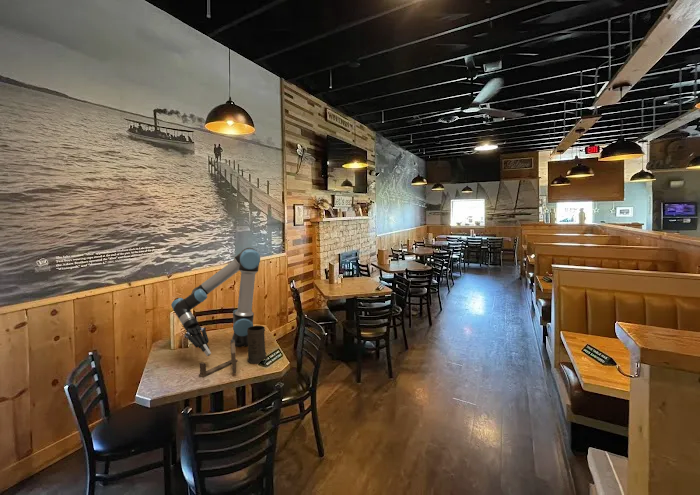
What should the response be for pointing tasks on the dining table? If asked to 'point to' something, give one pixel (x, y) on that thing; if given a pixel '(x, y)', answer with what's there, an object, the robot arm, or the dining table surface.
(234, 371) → the gate
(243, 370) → the dining table surface
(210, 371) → the gate frame
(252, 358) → the beer stein
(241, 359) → the dining table surface
